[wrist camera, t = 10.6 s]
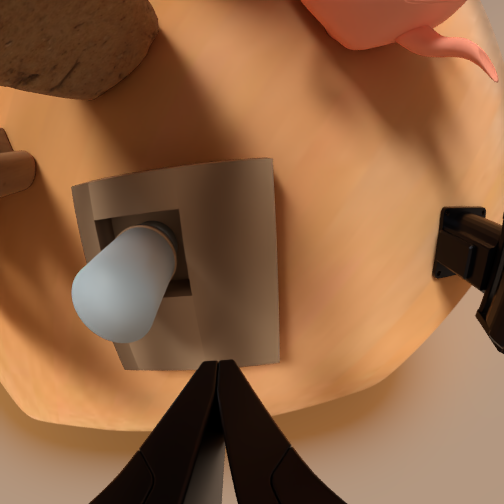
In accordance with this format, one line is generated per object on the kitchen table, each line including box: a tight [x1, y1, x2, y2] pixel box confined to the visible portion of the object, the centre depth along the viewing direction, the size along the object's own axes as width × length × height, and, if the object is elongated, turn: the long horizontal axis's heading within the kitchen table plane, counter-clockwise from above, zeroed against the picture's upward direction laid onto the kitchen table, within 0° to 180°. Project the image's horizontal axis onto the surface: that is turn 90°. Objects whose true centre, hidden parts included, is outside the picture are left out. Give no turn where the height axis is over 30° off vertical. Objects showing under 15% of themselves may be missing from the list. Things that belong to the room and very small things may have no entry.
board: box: [71, 158, 280, 370], centre depth 18 cm, size 12×14×3 cm
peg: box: [72, 221, 178, 343], centre depth 14 cm, size 4×4×8 cm
